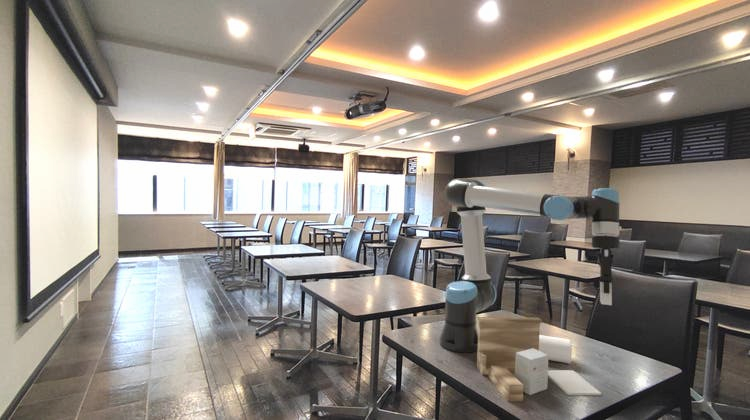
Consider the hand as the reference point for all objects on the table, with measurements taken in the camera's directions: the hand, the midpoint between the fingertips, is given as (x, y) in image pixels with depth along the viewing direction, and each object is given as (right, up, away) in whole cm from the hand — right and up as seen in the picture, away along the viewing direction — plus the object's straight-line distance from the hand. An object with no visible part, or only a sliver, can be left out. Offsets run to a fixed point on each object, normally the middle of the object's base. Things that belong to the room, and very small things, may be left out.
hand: (605, 303), depth 114 cm
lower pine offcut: (-34, -24, -6) cm, 42 cm away
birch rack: (-29, -23, +5) cm, 37 cm away
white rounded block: (-9, -24, +16) cm, 30 cm away
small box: (-26, -24, -6) cm, 36 cm away
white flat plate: (-12, -24, -2) cm, 27 cm away
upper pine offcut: (-34, -22, -7) cm, 41 cm away
